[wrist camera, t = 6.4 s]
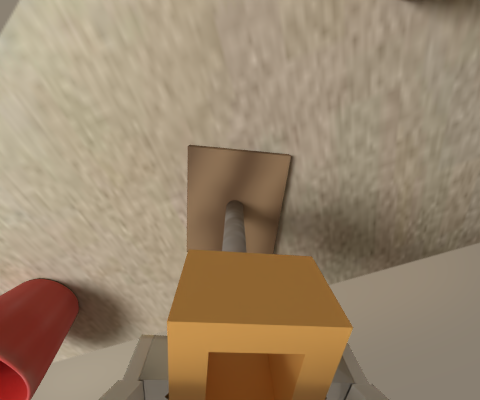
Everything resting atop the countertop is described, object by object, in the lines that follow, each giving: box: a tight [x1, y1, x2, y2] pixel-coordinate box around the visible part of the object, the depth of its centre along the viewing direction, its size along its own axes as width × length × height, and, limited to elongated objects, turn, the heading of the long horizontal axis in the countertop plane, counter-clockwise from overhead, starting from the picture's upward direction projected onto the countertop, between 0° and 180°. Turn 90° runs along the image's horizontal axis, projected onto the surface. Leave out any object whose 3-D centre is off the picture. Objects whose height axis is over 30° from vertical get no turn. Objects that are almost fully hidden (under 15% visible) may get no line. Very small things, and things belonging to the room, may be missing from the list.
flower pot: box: [0, 279, 79, 400], centre depth 25 cm, size 11×11×10 cm
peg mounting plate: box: [187, 145, 291, 254], centre depth 20 cm, size 10×12×9 cm
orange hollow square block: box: [167, 249, 353, 400], centre depth 9 cm, size 5×7×4 cm
